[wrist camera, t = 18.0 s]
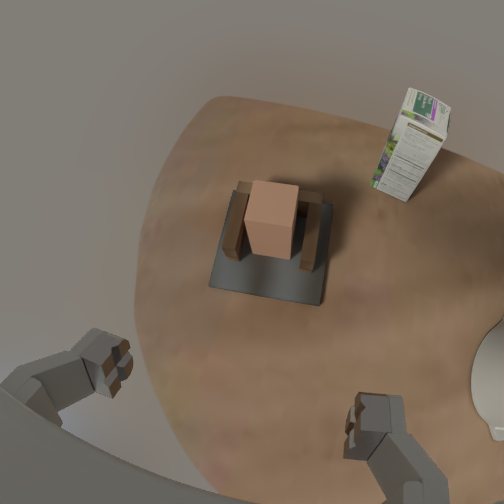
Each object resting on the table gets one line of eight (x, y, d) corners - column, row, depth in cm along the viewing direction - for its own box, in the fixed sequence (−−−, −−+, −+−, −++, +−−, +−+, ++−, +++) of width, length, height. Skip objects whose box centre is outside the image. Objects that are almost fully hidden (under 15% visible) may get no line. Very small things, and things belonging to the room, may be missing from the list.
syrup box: (380, 157, 42) (406, 83, 29) (416, 174, 41) (453, 105, 27) (369, 186, 41) (397, 112, 27) (407, 204, 39) (449, 136, 26)
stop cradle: (332, 206, 40) (337, 187, 36) (319, 306, 36) (324, 297, 32) (233, 192, 42) (228, 173, 38) (209, 286, 38) (200, 275, 34)
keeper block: (295, 225, 39) (298, 185, 31) (290, 259, 38) (292, 226, 29) (259, 219, 40) (253, 179, 31) (252, 253, 38) (244, 219, 30)
